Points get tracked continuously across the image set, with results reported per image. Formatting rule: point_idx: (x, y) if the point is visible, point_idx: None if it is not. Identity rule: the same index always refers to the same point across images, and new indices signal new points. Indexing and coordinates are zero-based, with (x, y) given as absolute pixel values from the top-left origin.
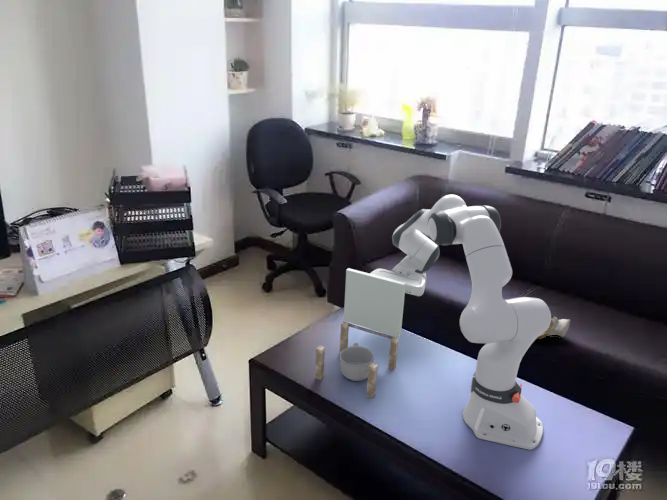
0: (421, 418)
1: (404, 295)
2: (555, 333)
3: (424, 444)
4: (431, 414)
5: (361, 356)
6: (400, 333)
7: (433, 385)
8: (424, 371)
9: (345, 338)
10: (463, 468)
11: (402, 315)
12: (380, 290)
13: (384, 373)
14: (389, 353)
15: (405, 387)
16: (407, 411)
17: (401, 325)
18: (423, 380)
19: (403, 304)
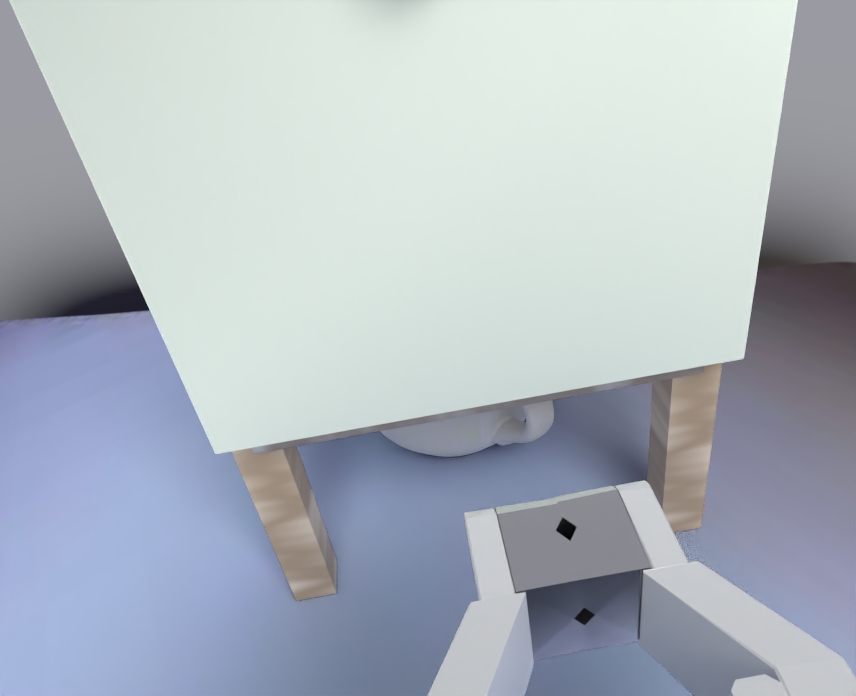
0: (90, 400)
1: (27, 35)
2: None
3: (73, 335)
4: (48, 434)
5: (470, 418)
6: (209, 431)
7: (35, 597)
8: (99, 684)
9: (652, 414)
10: None
11: (139, 283)
12: None
13: (335, 511)
14: (308, 481)
15: (191, 493)
16: (152, 395)
17: (180, 373)
18: (99, 598)
19: (83, 155)
